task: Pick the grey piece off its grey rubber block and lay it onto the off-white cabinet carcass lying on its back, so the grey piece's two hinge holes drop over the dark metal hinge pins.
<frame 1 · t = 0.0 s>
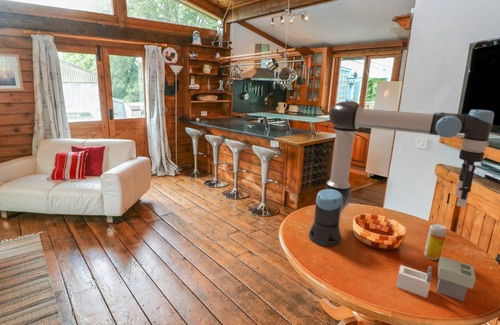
hand: (459, 200, 117), 28 cm above the table, fingers open, 13 cm apart
grey piece: (454, 276, 103), point 7 cm above the table, touching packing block
cabinet carcass: (411, 287, 106), on the table
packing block: (449, 292, 105), on the table
beer can: (431, 257, 127), on the table
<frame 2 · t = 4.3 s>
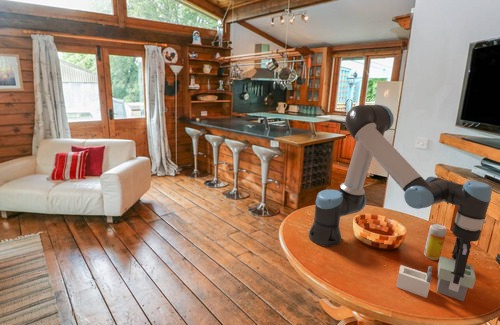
hand: (452, 282, 103), 4 cm above the table, fingers closed on grey piece, 9 cm apart
grey piece: (454, 276, 103), point 7 cm above the table, touching gripper, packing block
everything else where it was.
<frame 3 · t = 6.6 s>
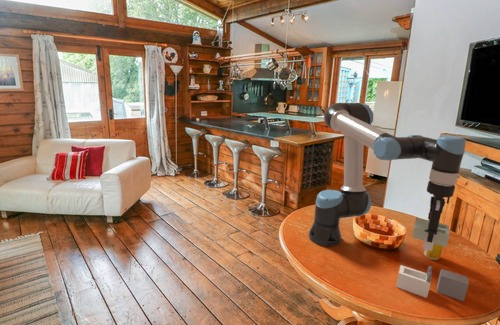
hand: (427, 242, 100), 19 cm above the table, fingers closed on grey piece, 9 cm apart
grey piece: (429, 236, 100), point 22 cm above the table, touching gripper
everything else where it was.
when the fingers open (4 cm above the table, at t = 9.3 s): grey piece stays where it is, resting on cabinet carcass.
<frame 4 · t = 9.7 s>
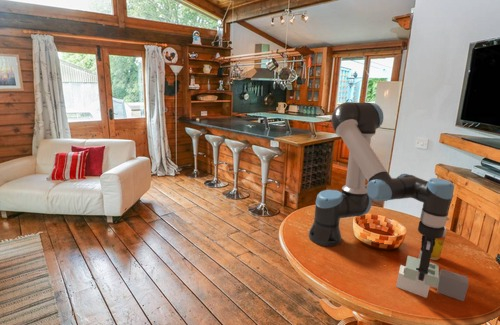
hand: (419, 276, 104), 6 cm above the table, fingers open, 13 cm apart
grey piece: (420, 275, 104), point 6 cm above the table, touching cabinet carcass
everything else where it was.
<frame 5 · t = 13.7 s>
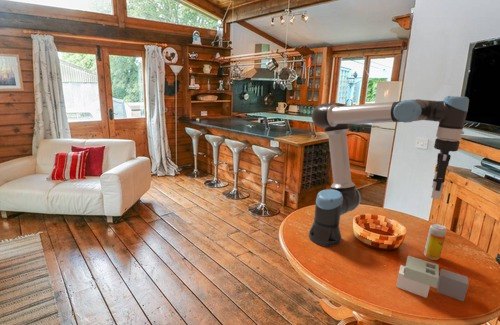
hand: (435, 193, 111), 33 cm above the table, fingers open, 13 cm apart
nothing on the table moved.
at the end: grey piece 0.1 cm from the target spot on the cabinet carcass, point 6.0 cm above the cabinet carcass's base; grey piece tilted 0°; grey piece touching cabinet carcass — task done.
